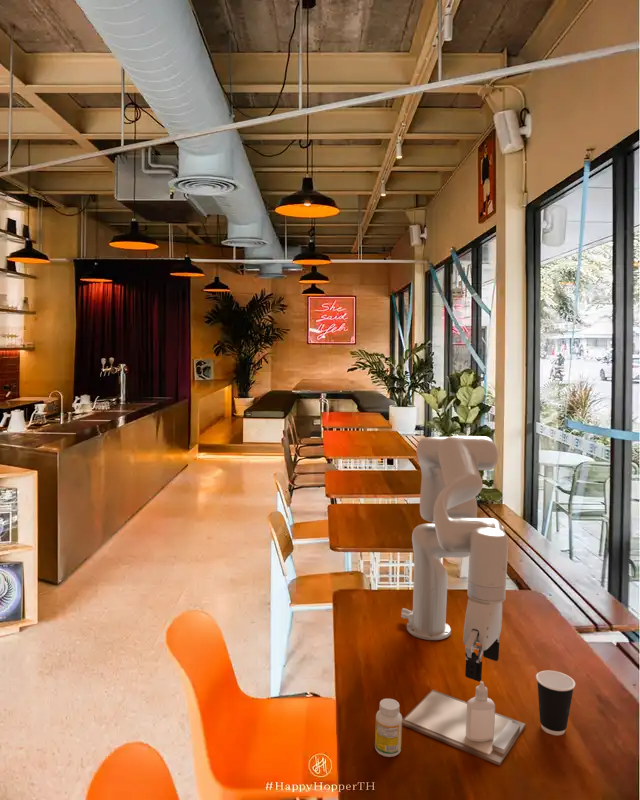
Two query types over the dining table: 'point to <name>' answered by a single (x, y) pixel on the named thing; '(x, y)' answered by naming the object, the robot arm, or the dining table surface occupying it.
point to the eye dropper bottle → (480, 716)
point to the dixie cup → (554, 700)
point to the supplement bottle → (388, 728)
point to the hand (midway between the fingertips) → (482, 668)
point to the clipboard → (461, 727)
